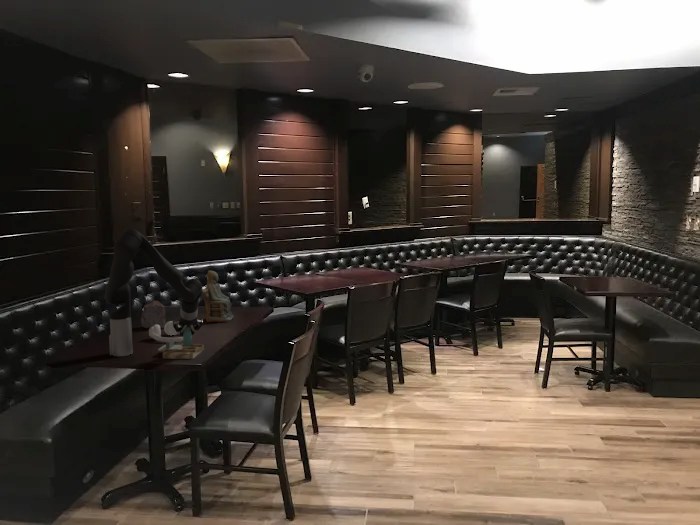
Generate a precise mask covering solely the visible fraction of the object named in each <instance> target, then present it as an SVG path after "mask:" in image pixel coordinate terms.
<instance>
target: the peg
mask: <svg viewBox="0 0 700 525" xmlns="http://www.w3.org/2000/svg"><path fill="white" fill-rule="evenodd" d="M182 337H183V342H182V344H183V346H191V345H192V344H193V340H192V338H193V336H192V333H191V327H187V328H185V330H184V331H183V336H182Z"/></svg>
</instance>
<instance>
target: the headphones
mask: <svg viewBox="0 0 700 525" xmlns="http://www.w3.org/2000/svg"><path fill="white" fill-rule="evenodd" d="M173 321H174V320H171V321H170V320H169V321H166V323H165V326H164V327H163V330H164V333H165V334H166V335H168V336H169V335H170V336H169V337H164V336H162V330H161V329H162V328H160V325H157V324H156V325H154V326H153V327H151V328H148V336H149V337H150V338H151V339H153V340H155V341H157V342H161V343H166V342H167V341H169V340H170V339H174V344H176V343H183V342H182V341H183V336H181V337H179V336H178V337H172V335H174V336H177V334H179V332H176V330H175V329H174V327H173ZM180 326H181V325H179V324H178V327H180ZM175 342H176V343H175Z"/></svg>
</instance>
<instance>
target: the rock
mask: <svg viewBox="0 0 700 525" xmlns="http://www.w3.org/2000/svg"><path fill="white" fill-rule="evenodd" d="M142 309H143V310H142V312H141V319H140V322H141V323H140V324H141V326H142V327H143V328H144V329H150V328H151V327H153V326H154V325H156V324H157V325H160V328H161V329H164V326H165V324H166V323H167V321H166V312H167V311H166V308H165V306H164V305H163V304H162V303H161V302H160V301H158V300H152V301H151V302H149V303H146V304H145V305H143V308H142Z"/></svg>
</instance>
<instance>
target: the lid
mask: <svg viewBox="0 0 700 525" xmlns="http://www.w3.org/2000/svg"><path fill="white" fill-rule="evenodd" d="M174 344H175V343H174V339H170V340H169V341H167V342H165V344H163V345H162V346H161V347H159V348H158V349H157V351H158V352H165V349H180V348H181V347H182V345H174Z"/></svg>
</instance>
